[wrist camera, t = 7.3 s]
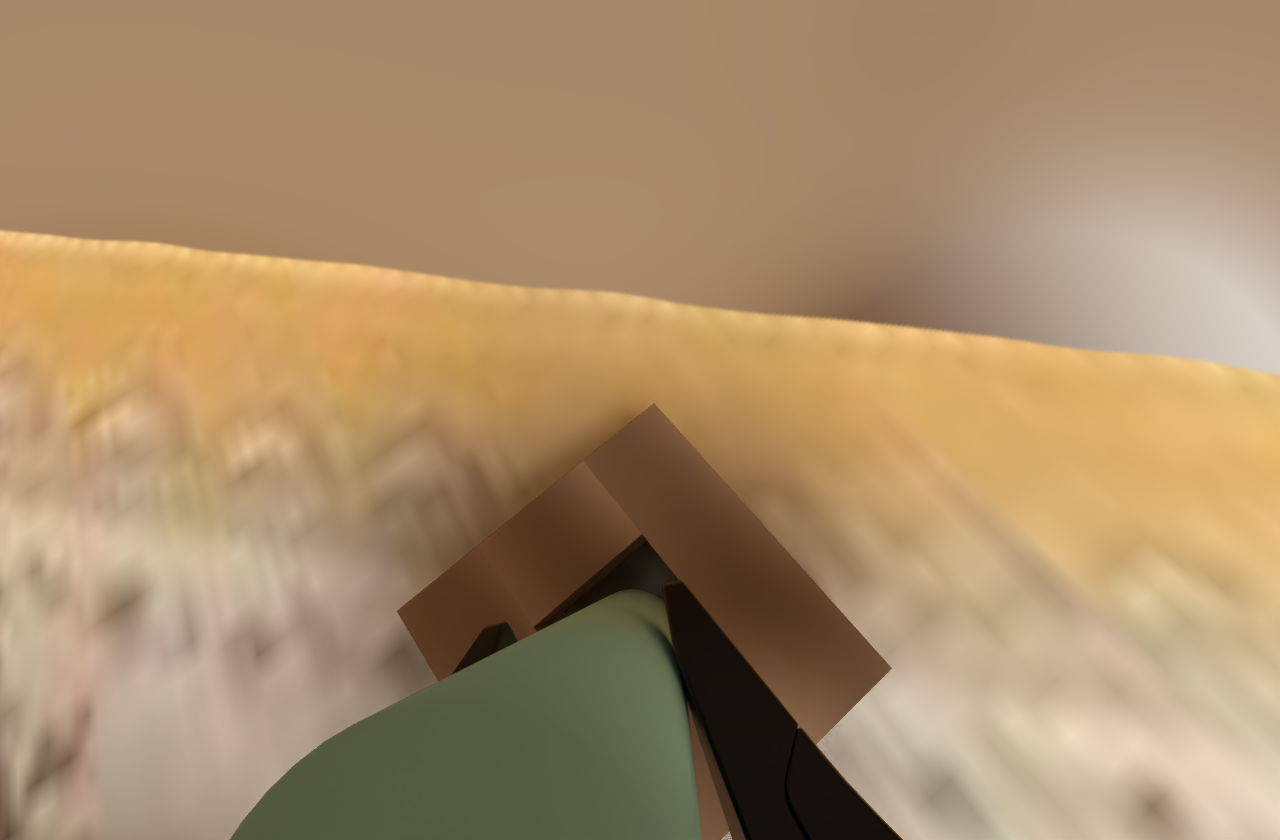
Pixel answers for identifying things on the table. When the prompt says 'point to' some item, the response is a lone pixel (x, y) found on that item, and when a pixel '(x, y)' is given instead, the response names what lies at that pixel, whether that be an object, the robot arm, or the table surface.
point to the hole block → (693, 550)
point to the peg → (514, 747)
